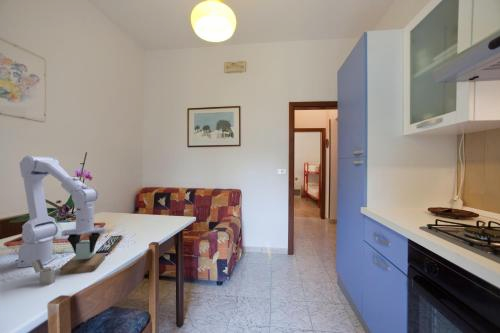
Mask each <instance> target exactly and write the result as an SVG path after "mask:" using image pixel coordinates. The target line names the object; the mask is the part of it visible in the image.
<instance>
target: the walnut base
mask: <svg viewBox="0 0 500 333" xmlns="http://www.w3.org/2000/svg"><path fill="white" fill-rule="evenodd" d="M104 261H106V252H103V253H94V255H92V256H91V257H90V258H88V259H78V260H76V255H74V256H72V258H71V259H69V260H68V261H67V262H66V263H64V264H63V265H62V266H60V268H59V276H64V275H65V276H66V275H73V274H82V273H83V274H84V273H91V272H96V270H97V269H98V268H99V267H100V266H101V264H103V263H104Z"/></svg>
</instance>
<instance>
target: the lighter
mask: <svg viewBox="0 0 500 333" xmlns="http://www.w3.org/2000/svg"><path fill="white" fill-rule="evenodd" d="M31 263H32V265H33V266H32V268H33V269H34V272H35V273H36V274H37V273H39V285H52V284H54V283H55V282H56V269H55V268H53V269H52V267H51V266H46V267H44V265H42V262H41V260H40V259H37V260H34V261H32V262H31Z"/></svg>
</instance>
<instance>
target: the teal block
mask: <svg viewBox="0 0 500 333" xmlns="http://www.w3.org/2000/svg"><path fill="white" fill-rule="evenodd" d="M94 254H95V250H94V251H93V252H92V253H90V241H89V239H85V240H83V239H82V240H80V242H79V243H77V244H76V254H75V256H76V260H78V259H88V258H90V257H91V256H92V255H94Z"/></svg>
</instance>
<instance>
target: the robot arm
mask: <svg viewBox="0 0 500 333" xmlns="http://www.w3.org/2000/svg"><path fill="white" fill-rule="evenodd" d="M19 169H20V175H21V177H22V178H23V185H24V190H25V196H26V204H27V207H28V208H27V209H28V215H29V219H28V220H27V221H26V222H25V223H24V224H22V226H21V228H22V232H21V240H22V241H23V242H22V243H21V244H20V246H19V248H18V253H17V254H18V258H17V259H18V260H17V261H18V264H17V265H16V268H25V267H33V265H32V263H31V262H32V261H34V260H37V259H40V260H41V262H42V265H43V266H44V265H48V264H49V263H51V262H52V261H53V260H55V259H56V258H57V257H58V255H53V241H54V240H53V239H54V238H55V236H57V234H58V232H59V226H58V224H57V223H56V219H55V218H54V217H52V216H49V214H48V208H47V203H46V202H47V201H46V196H45V189H44V184H43V180H44V178H46V177H47V176H49V175H51V176H52V177H54V178H55V179H56V180H57V181H59V182H61V186H60V187H61V188H62V189H64V190H65V191H66V192H67V193H68V194H69V195H70V196H71V200H72V202H73V205H74V208H75V228H74V229H73V228H72V229H65V230H62V231H61V237H67V236H68V237H67V241H68V242H69V244H70V245H71V247H72V249H73V252H74V254H75V255H76V244H77V243H79V242H80V241H81V236H82V235H89V236H88V240H89V241H90V253H92V252H93V251H94V252H95V248H96V245H97V241H98V239H99V237H100V236H101V234H102V235H103V234H106V233H107V229H108V228H107V227H95V226H94V224H95V201H96V200H98V197H99V193H98V191H97V190H96V188H95V187H88V185H86V184H85V183H83V182H82V181H81V180H80V178H79V177H76V176H70V175H69V173H67V171H65V169H63V167H62V166H61V165H60V161H59V160H57V158H56V157H54V156H32V155H26V156H24V157H22V159H21V160H20V162H19Z"/></svg>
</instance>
